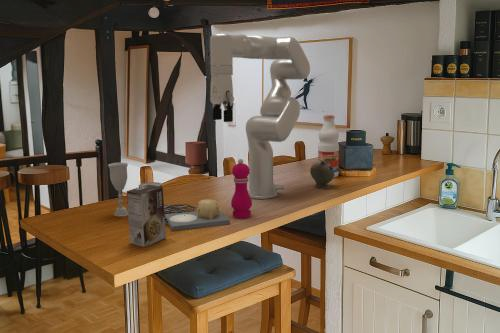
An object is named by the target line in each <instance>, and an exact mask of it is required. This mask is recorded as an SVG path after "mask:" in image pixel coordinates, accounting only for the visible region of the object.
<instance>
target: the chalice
mask: <svg viewBox="0 0 500 333" xmlns="http://www.w3.org/2000/svg"><path fill="white" fill-rule="evenodd" d="M128 165H129V163H127V162H112V163H110V164H109V163H108V164H107V166H108V168H109V178H110V181H111V184H112V186H113V187H114V189H115V191H118V195H117V197H118V201H117V202H118V203H119V206H118V207H117V208H116V209H115V212H114V214H113V216H114V217H126V216H128V209H127V208H126V207H125V206H123V202H124V200H123V199H122V197H123V195H122V191H124V189H125V186H126V184H127V181H128V168H127V167H128Z"/></svg>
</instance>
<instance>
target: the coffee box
mask: <svg viewBox="0 0 500 333" xmlns="http://www.w3.org/2000/svg"><path fill="white" fill-rule="evenodd" d="M163 188H164V187H163V186H162V187H158V186H154V185H146V186H142V187H139V186H138V187H135V188H132V189H129V190H126V200H127V212H128V215H127V217H128V227H129V228H128V229H129V241H130V242H129V243H130V244H131V245H136V246H138V247H139V246H140V247H144V248H146V247H148V246H151V245H153V244H155V243H157V242H159V241H160V242H161V241H163V240H164V239H166V238H167V234H166V232H167V231H166V220H165V215H166V214H165V204H164V203H165V202H164V189H163Z"/></svg>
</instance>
